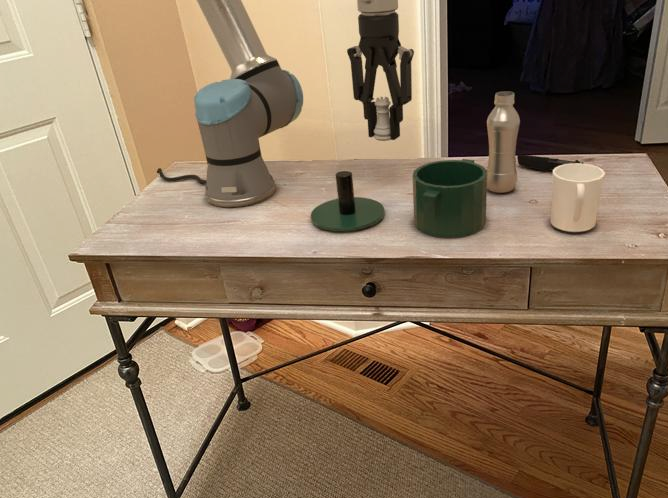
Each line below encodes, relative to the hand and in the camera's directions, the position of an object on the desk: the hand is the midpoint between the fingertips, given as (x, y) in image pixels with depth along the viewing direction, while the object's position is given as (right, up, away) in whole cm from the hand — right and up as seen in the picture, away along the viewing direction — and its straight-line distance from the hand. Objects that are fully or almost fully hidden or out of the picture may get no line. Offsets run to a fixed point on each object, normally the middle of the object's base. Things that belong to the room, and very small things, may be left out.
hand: (384, 136), depth 125 cm
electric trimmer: (+37, -5, +11) cm, 39 cm away
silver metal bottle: (+25, -11, +4) cm, 27 cm away
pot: (+13, -19, -8) cm, 24 cm away
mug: (+35, -20, -13) cm, 42 cm away
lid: (-7, -17, -3) cm, 18 cm away
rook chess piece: (0, 0, 0) cm, 0 cm away
